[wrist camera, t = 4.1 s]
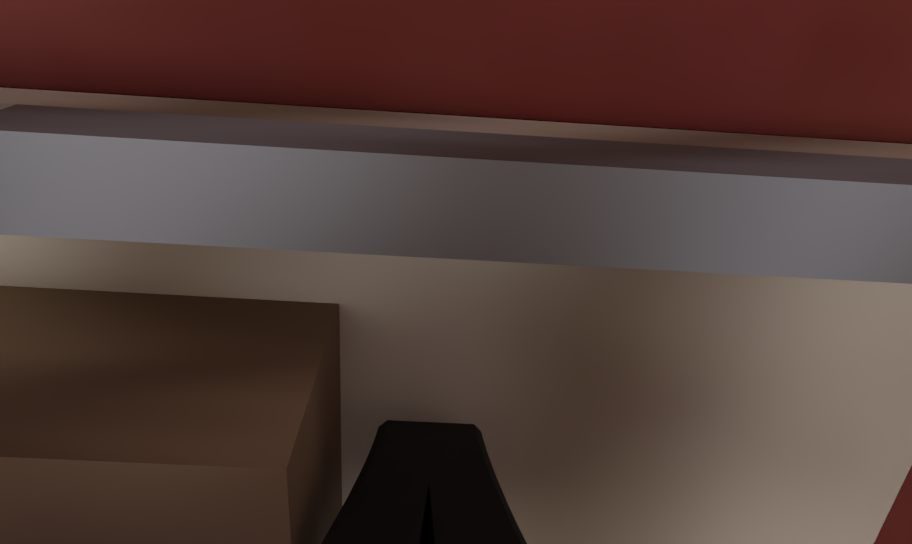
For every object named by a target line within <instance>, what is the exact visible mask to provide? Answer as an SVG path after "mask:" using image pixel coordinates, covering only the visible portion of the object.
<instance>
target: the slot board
mask: <svg viewBox="0 0 912 544" xmlns="http://www.w3.org/2000/svg"><path fill="white" fill-rule="evenodd" d="M0 286H17V287H36V288H55V289H74V290H92V291H111V292H130V293H149V294H168V295H186V296H205V297H223V298H242V299H261V300H279V301H298V302H316V303H335V304H339V320H340V392H341V463H342V506H343V505H344V503H345V501H346V499H347V497H348V495H349V493H350V491H351V490H352V488H353V486H354V484H355V482H356V480H357V478H358V476H359V474H360V472H361V470H362V468H363V465H364V463H365V461H366V459H367V457H368V454H369V452H370V449H371V447H372V445H373V442H374V439H375V436H376V433H377V430H378V427H379V426H380V425H382V424H383V423H384V422H386V421H387V420H395V421H417V422H439V423H461V424H474V425H475V426H476V427H477V428H478V429H479V430H480V431H481V432H482V436H483V440H484V443H485V446H486V450H487V453H488V456H489V458H490V461H491V464H492V467H493V469H494V472H495V474H496V477H497V480H498V482H499V484H500V487H501V489H502V491H503V494H504V496H505V498H506V501H507V503H508V505H509V508H510V510H511V512H512V514H513V516H514V518H515V521H516V523H517V525H518V527H519V529H520V531H521V533H522V535H523V537H524V539H525V541H526V543H527V544H874V542H875V540H876V538H877V536H878V534H879V532H880V529H881V527H882V525H883V523H884V521H885V519H886V517H887V515H888V513H889V511H890V509H891V507H892V505H893V503H894V501H895V498H896V496H897V494H898V492H899V490H900V488H901V486H902V484H903V482H904V480H905V478H906V476H907V474H908V472H909V470H910V467H911V465H912V144H902V143H885V142H869V141H853V140H837V139H821V138H805V137H789V136H773V135H757V134H741V133H725V132H709V131H693V130H677V129H661V128H645V127H629V126H612V125H596V124H580V123H564V122H548V121H532V120H516V119H500V118H484V117H468V116H452V115H436V114H420V113H404V112H388V111H372V110H356V109H340V108H323V107H307V106H291V105H275V104H259V103H243V102H227V101H211V100H195V99H179V98H163V97H147V96H131V95H115V94H99V93H83V92H67V91H51V90H34V89H18V88H2V87H0Z"/></svg>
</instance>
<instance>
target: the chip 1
mask: <svg viewBox="0 0 912 544" xmlns="http://www.w3.org/2000/svg"><path fill="white" fill-rule="evenodd" d="M341 508H342V463H341V392H340V320H339V304H335V303H316V302H298V301H279V300H261V299H242V298H223V297H205V296H186V295H168V294H149V293H130V292H111V291H92V290H74V289H55V288H36V287H17V286H0V544H321V543H322V541H323V539H324V538H325V536H326V534H327V532H328V531H329V529H330V527H331V525H332V524H333V522H334V520H335V518H336V517H337V515H338V513H339V511H340V510H341Z"/></svg>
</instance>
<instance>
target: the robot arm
mask: <svg viewBox="0 0 912 544" xmlns="http://www.w3.org/2000/svg"><path fill="white" fill-rule="evenodd" d="M321 544H527V543H526V541H525V539H524V537H523V535H522V533H521V531H520V529H519V527H518V525H517V523H516V521H515V518H514V516H513V514H512V512H511V510H510V508H509V505H508V503H507V501H506V498H505V496H504V494H503V491H502V489H501V487H500V484H499V482H498V480H497V477H496V474H495V472H494V469H493V467H492V464H491V461H490V458H489V456H488V453H487V450H486V446H485V443H484V440H483V436H482V432H481V431H480V430H479V429H478V428H477V427H476V426H475V425H474V424H461V423H439V422H417V421H395V420H387V421H386V422H384V423H383V424H382V425H380V426H379V427H378V430H377V433H376V436H375V439H374V442H373V445H372V447H371V449H370V452H369V454H368V457H367V459H366V461H365V463H364V465H363V468H362V470H361V472H360V474H359V476H358V478H357V480H356V482H355V484H354V486H353V488H352V490H351V491H350V493H349V495H348V497H347V499H346V501H345V503H344V505H343V506H342V508H341V510H340V511H339V513H338V515H337V517H336V518H335V520H334V522H333V524H332V525H331V527H330V529H329V531H328V532H327V534H326V536H325V538H324V539H323V541H322V543H321Z"/></svg>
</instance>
